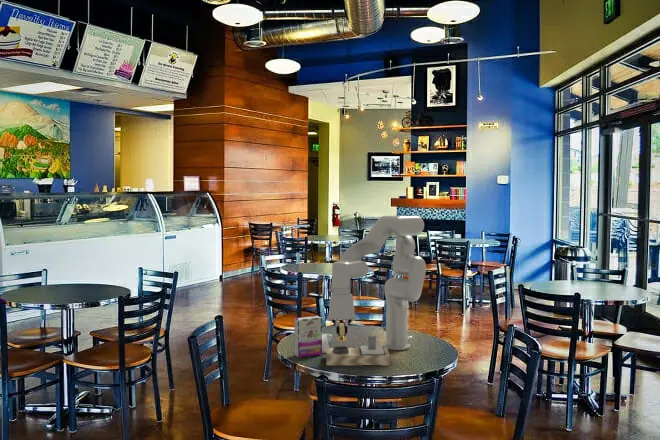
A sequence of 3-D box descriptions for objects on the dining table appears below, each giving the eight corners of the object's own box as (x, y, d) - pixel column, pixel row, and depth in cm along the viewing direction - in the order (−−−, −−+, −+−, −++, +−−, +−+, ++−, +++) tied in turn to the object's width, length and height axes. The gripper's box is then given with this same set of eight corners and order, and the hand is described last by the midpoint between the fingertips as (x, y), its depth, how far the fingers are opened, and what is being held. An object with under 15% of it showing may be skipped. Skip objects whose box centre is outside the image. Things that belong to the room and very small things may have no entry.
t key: (336, 337, 251) (336, 323, 251) (346, 337, 251) (346, 322, 251) (337, 343, 241) (337, 328, 241) (347, 343, 241) (347, 328, 241)
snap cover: (361, 354, 242) (362, 339, 242) (360, 348, 251) (360, 334, 251) (383, 354, 242) (384, 339, 242) (381, 348, 251) (381, 334, 251)
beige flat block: (326, 365, 240) (326, 351, 240) (326, 357, 252) (326, 344, 252) (390, 365, 241) (390, 352, 240) (387, 357, 253) (387, 344, 252)
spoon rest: (305, 340, 281) (305, 325, 281) (330, 340, 283) (330, 325, 283) (311, 354, 258) (311, 337, 258) (338, 353, 260) (338, 337, 259)
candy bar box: (317, 352, 260) (317, 315, 259) (322, 355, 255) (322, 317, 255) (293, 355, 255) (294, 317, 254) (298, 358, 251) (298, 319, 250)
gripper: (322, 293, 241) (322, 337, 242) (361, 292, 242) (361, 337, 243) (322, 289, 249) (322, 333, 250) (360, 289, 249) (360, 332, 250)
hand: (341, 334), depth 246 cm, fingers closed on t key, 2 cm apart
